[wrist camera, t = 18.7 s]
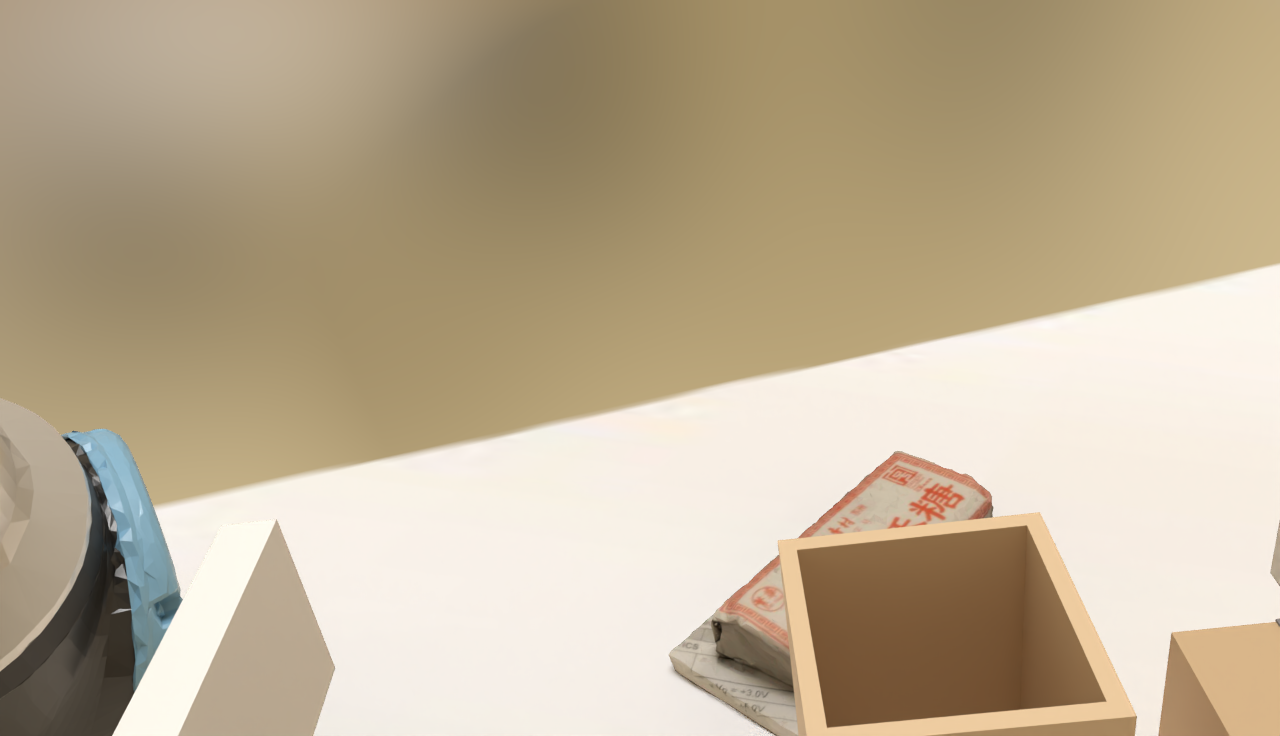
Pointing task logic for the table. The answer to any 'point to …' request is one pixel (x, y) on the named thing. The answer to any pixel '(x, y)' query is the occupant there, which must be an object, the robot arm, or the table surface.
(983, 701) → the tan tall box
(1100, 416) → the table surface
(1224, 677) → the brown cardboard block
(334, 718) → the table surface
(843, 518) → the packaged product
